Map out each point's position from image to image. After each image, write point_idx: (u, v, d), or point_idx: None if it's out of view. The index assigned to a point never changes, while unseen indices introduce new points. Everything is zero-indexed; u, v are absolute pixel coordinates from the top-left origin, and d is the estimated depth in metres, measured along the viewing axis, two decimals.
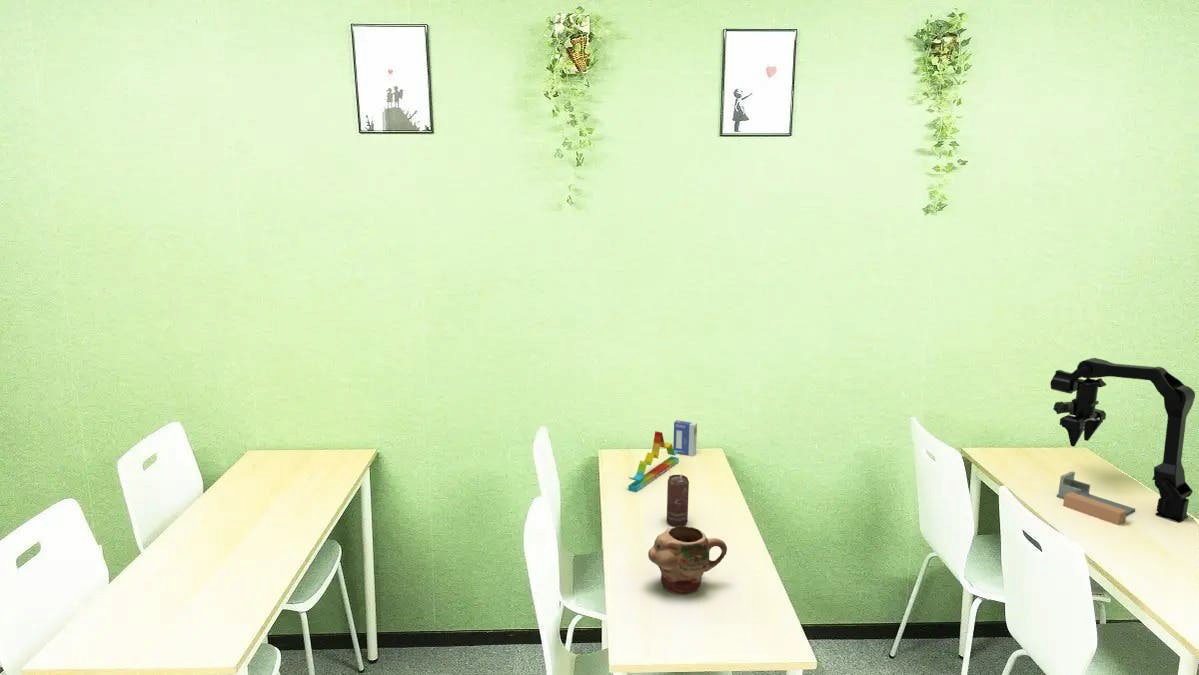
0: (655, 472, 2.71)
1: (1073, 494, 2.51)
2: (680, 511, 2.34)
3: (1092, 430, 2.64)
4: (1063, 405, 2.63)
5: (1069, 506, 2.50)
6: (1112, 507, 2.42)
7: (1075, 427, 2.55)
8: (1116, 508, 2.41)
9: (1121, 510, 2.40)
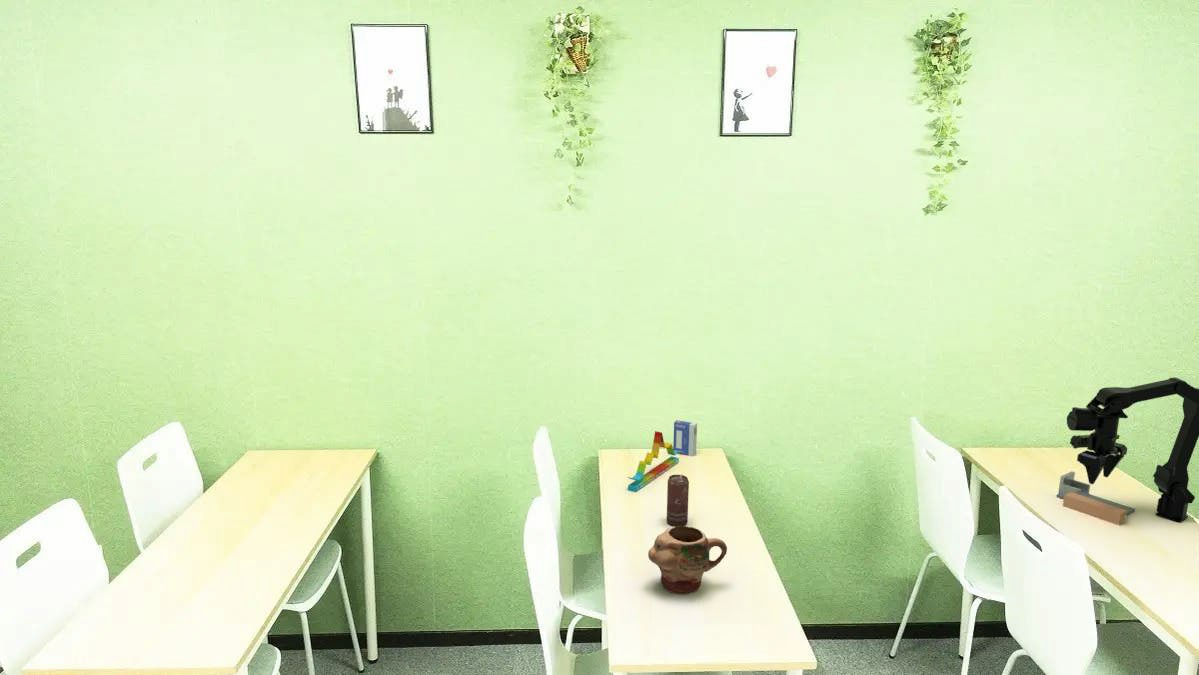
0: (655, 472, 2.71)
1: (1073, 494, 2.51)
2: (680, 511, 2.34)
3: (1112, 466, 2.44)
4: (1081, 439, 2.43)
5: (1069, 506, 2.50)
6: (1112, 507, 2.42)
7: (1094, 464, 2.35)
8: (1116, 508, 2.41)
9: (1121, 510, 2.40)
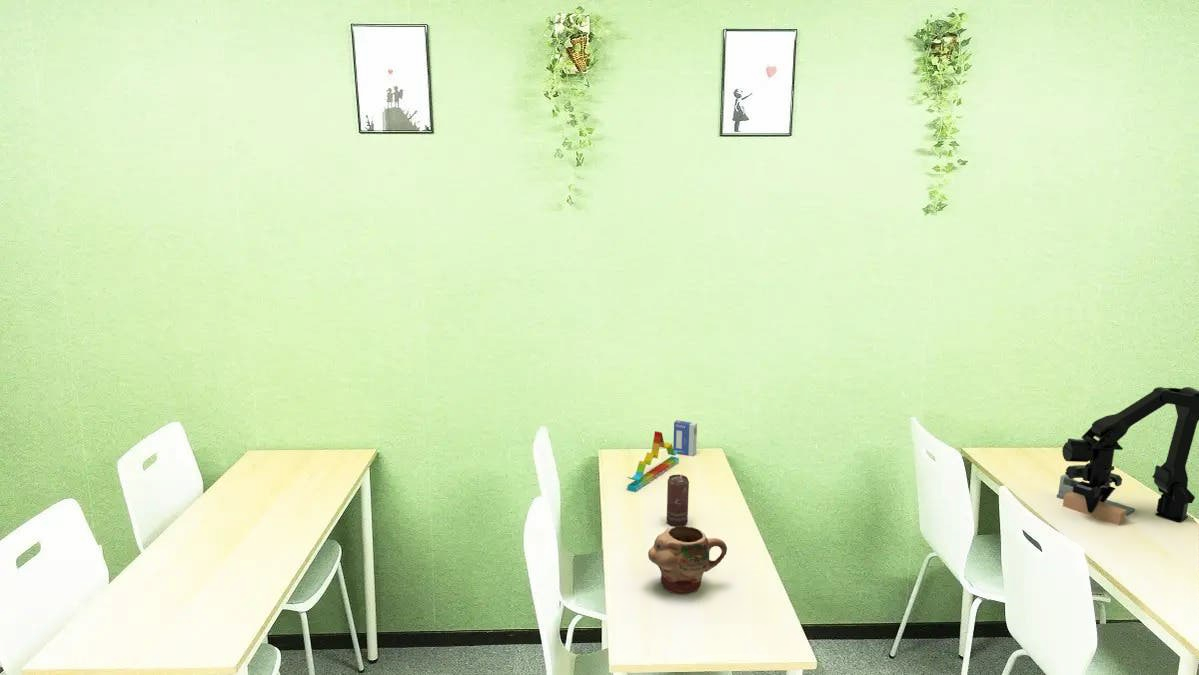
0: (655, 472, 2.71)
1: (1073, 494, 2.51)
2: (680, 511, 2.34)
3: (1103, 498, 2.45)
4: (1076, 470, 2.45)
5: (1069, 506, 2.49)
6: (1112, 506, 2.42)
7: (1089, 496, 2.37)
8: (1116, 508, 2.41)
9: (1121, 510, 2.40)
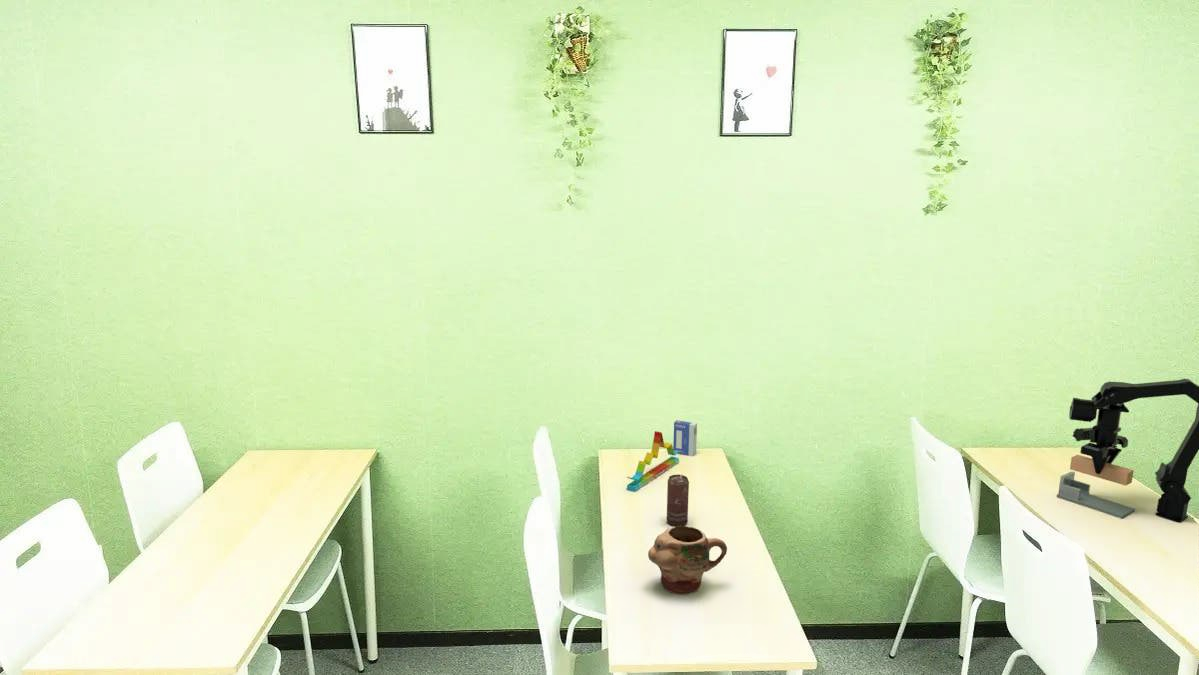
0: (654, 472, 2.71)
1: (1080, 456, 2.55)
2: (680, 511, 2.34)
3: (1110, 459, 2.49)
4: (1083, 432, 2.49)
5: (1076, 468, 2.54)
6: (1119, 467, 2.46)
7: (1097, 456, 2.41)
8: (1123, 468, 2.45)
9: (1128, 470, 2.44)
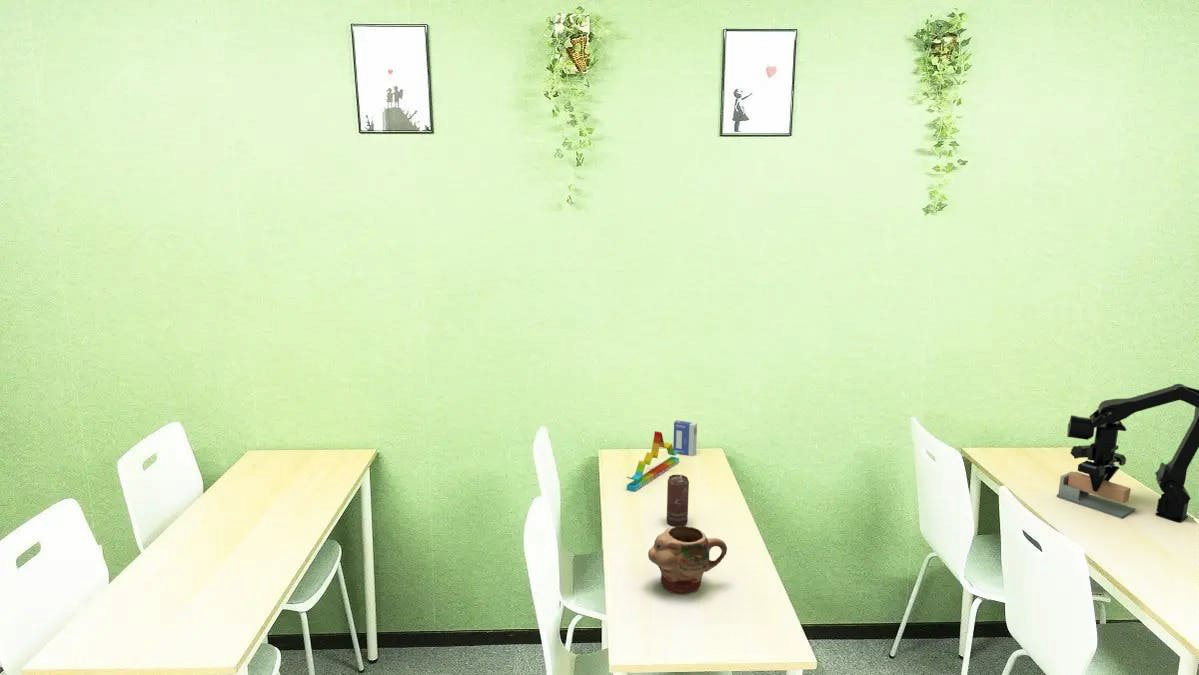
0: (654, 472, 2.71)
1: (1078, 473, 2.57)
2: (680, 511, 2.34)
3: (1108, 477, 2.51)
4: (1081, 450, 2.51)
5: (1074, 485, 2.55)
6: (1116, 485, 2.48)
7: (1094, 474, 2.43)
8: (1120, 486, 2.47)
9: (1125, 488, 2.46)
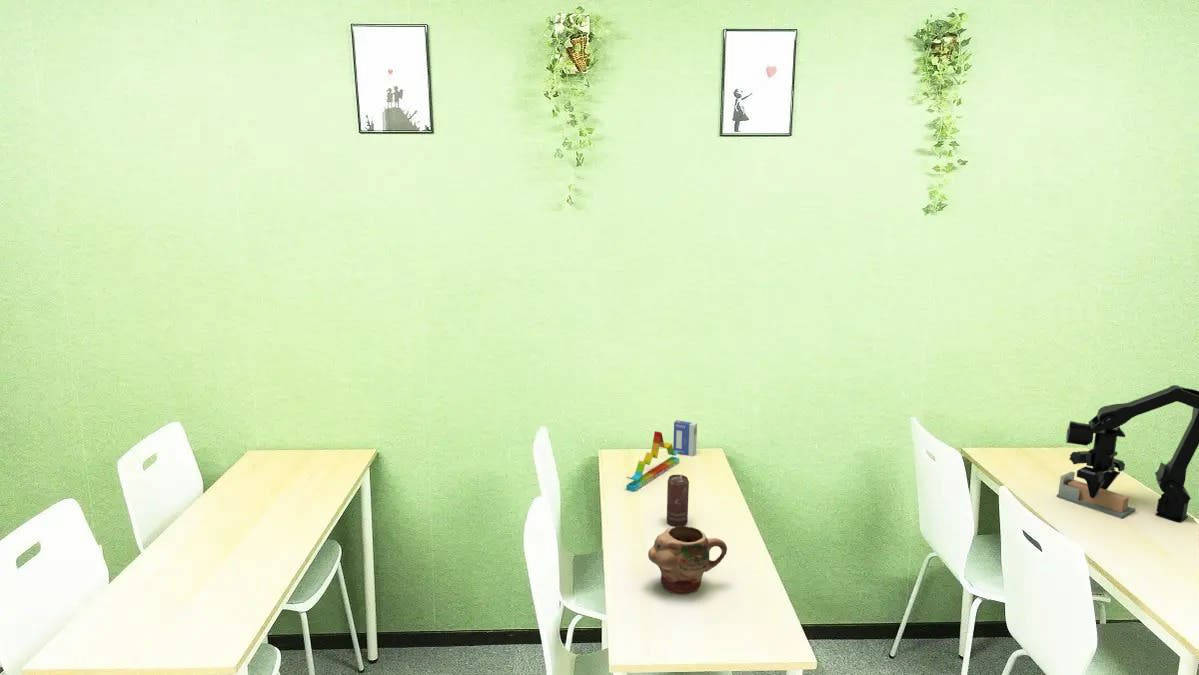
0: (654, 472, 2.71)
1: (1076, 482, 2.57)
2: (680, 511, 2.34)
3: (1108, 482, 2.52)
4: (1080, 455, 2.51)
5: None
6: (1115, 494, 2.48)
7: (1093, 480, 2.43)
8: (1119, 495, 2.48)
9: (1124, 497, 2.46)
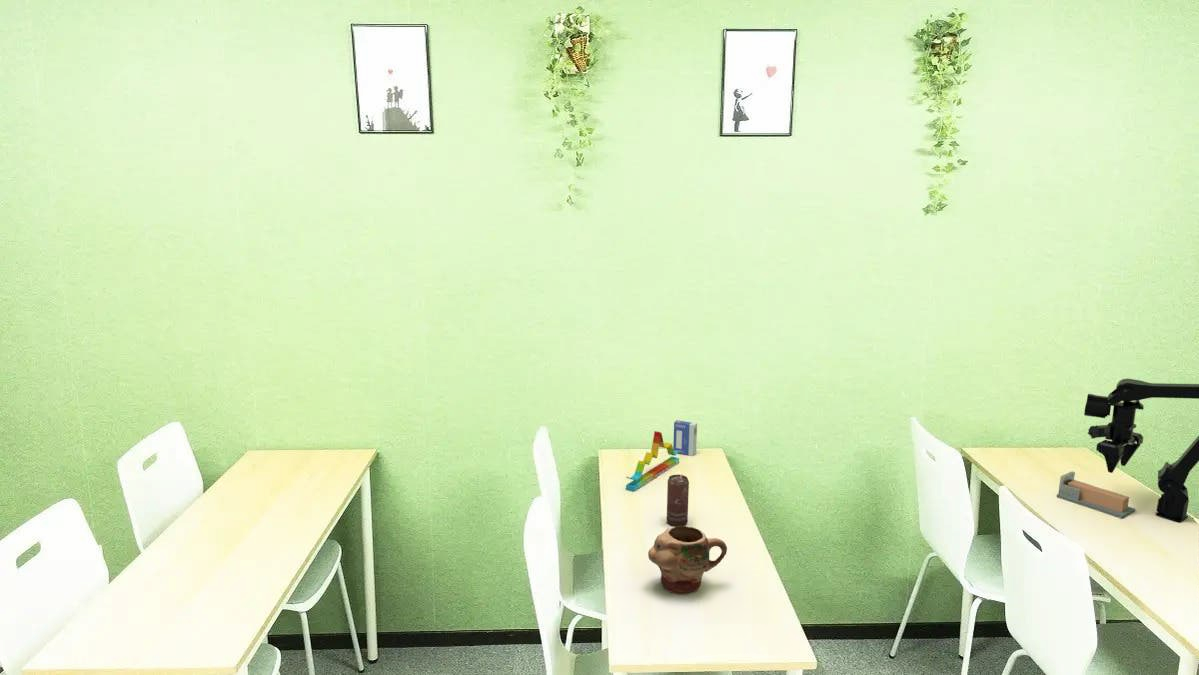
0: (654, 472, 2.71)
1: (1076, 482, 2.57)
2: (680, 511, 2.34)
3: (1129, 455, 2.51)
4: (1099, 429, 2.49)
5: None
6: (1115, 494, 2.48)
7: (1114, 453, 2.41)
8: (1119, 495, 2.48)
9: (1124, 497, 2.46)
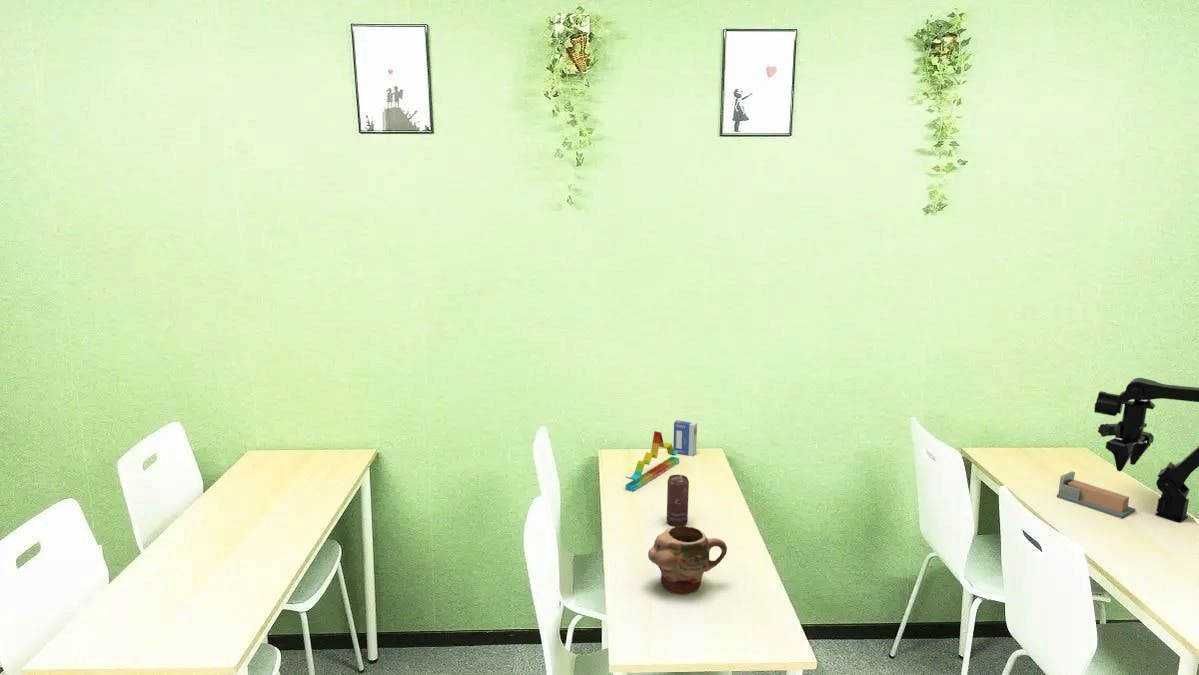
0: (654, 472, 2.71)
1: (1076, 482, 2.57)
2: (680, 511, 2.34)
3: (1139, 454, 2.51)
4: (1109, 427, 2.49)
5: None
6: (1115, 494, 2.48)
7: (1123, 451, 2.42)
8: (1119, 495, 2.48)
9: (1124, 497, 2.46)
